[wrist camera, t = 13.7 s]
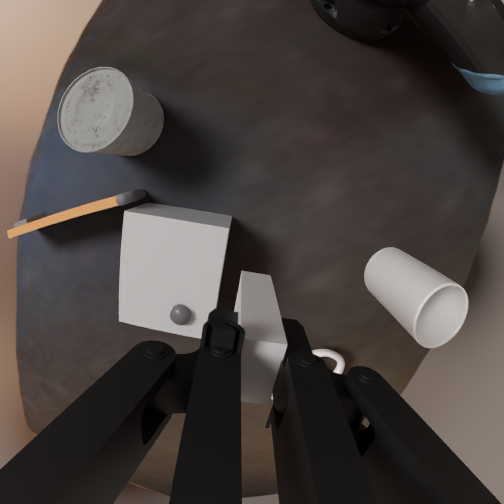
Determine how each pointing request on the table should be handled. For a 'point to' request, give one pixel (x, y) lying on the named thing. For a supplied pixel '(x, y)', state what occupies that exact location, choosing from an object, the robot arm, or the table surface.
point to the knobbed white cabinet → (171, 267)
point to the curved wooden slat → (74, 212)
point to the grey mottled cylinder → (109, 114)
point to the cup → (417, 296)
